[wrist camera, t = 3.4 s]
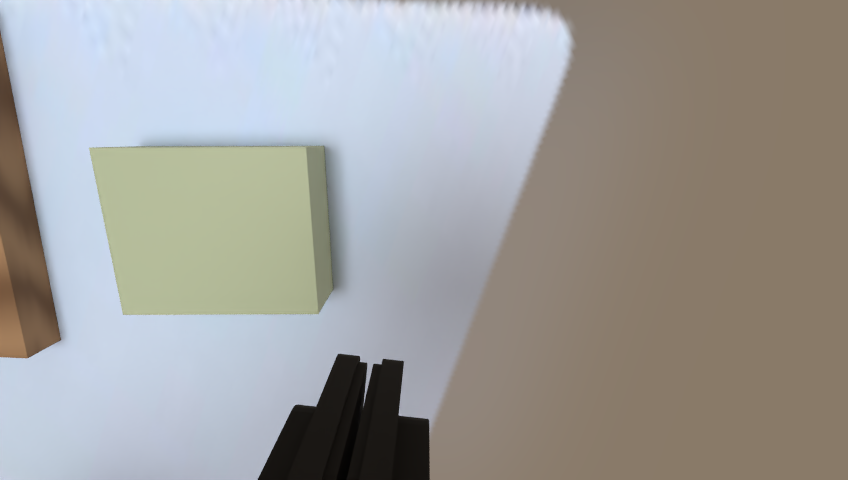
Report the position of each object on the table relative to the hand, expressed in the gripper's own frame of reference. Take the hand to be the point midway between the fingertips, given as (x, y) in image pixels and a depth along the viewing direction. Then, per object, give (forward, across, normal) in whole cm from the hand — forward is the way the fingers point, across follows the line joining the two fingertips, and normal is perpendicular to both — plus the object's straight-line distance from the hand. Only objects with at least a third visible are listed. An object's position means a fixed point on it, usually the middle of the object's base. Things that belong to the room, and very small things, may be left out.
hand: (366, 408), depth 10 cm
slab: (+18, +11, 0) cm, 22 cm away
